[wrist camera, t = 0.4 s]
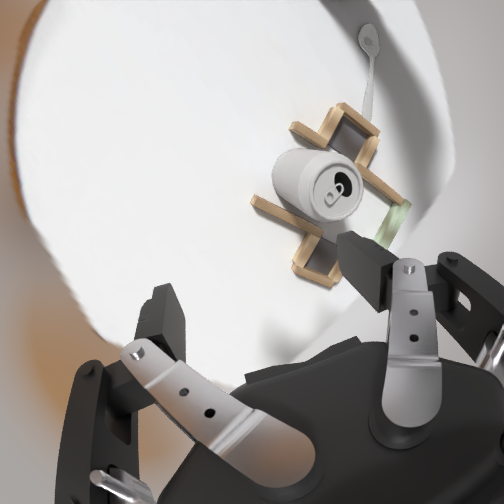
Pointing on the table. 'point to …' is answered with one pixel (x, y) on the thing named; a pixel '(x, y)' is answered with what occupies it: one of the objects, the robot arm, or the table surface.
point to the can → (318, 183)
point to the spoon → (372, 51)
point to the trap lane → (360, 153)
